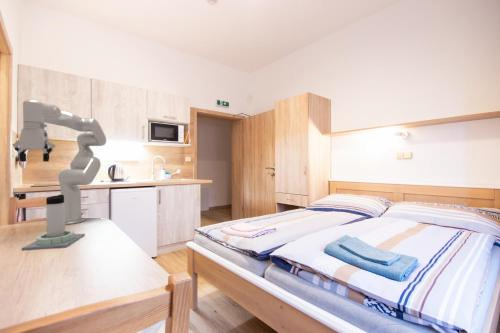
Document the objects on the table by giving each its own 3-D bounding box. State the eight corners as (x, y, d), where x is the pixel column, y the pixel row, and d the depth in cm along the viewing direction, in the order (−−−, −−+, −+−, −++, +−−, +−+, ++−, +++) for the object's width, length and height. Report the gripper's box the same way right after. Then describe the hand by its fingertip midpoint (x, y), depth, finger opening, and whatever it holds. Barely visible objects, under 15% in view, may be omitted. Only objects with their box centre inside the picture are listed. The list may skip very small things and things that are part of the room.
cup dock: (47, 237, 112) (46, 230, 112) (84, 235, 115) (84, 228, 115) (21, 250, 96) (21, 241, 96) (66, 247, 99) (66, 239, 99)
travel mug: (69, 237, 109) (68, 194, 108) (56, 242, 102) (55, 196, 102) (56, 237, 109) (55, 194, 109) (43, 242, 103) (42, 196, 102)
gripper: (58, 128, 120) (59, 161, 121) (18, 127, 117) (19, 161, 117) (49, 125, 113) (50, 161, 113) (6, 124, 109) (7, 161, 110)
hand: (34, 161), depth 115 cm, fingers open, 9 cm apart
